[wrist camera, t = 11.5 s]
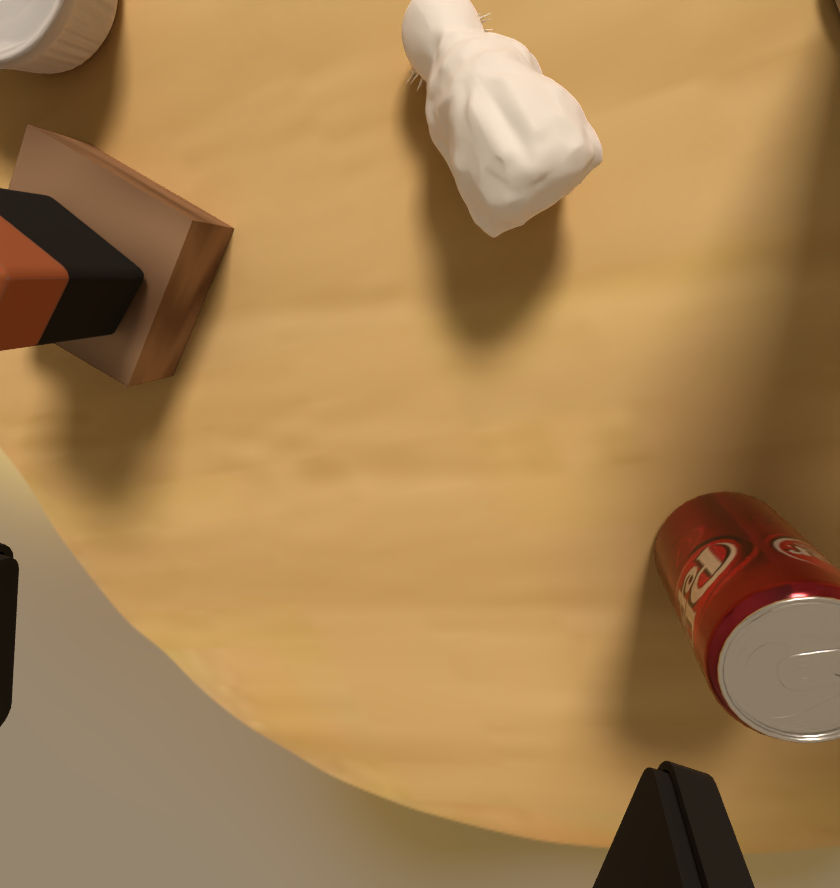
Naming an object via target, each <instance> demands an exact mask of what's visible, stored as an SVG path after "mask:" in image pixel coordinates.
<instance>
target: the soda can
mask: <svg viewBox="0 0 840 888" xmlns="http://www.w3.org/2000/svg"><path fill="white" fill-rule="evenodd" d="M655 561H656V566H657V569H658V572H659V575H660V577H661V579H662V582H663V584H664V586H665V588H666V591H667V593H668V595H669V597H670V600H671V602H672V604H673V606H674V609H675V611H676V613H677V615H678V618H679V620H680V622H681V624H682V627H683V629H684V631H685V634H686V636H687V638H688V640H689V643H690V645H691V647H692V649H693V652H694V654H695V656H696V658H697V661H698V663H699V665H700V667H701V670H702V672H703V674H704V676H705V679H706V681H707V683H708V685H709V688H710V689H711V691H712V693H713V695H714V696H715V698H716V700H717V702H718V703H719V704H720V705H721V706H722V707H723V708H724V709H725V710H726V712H727V713H728V714H730V715H731V716H732V717H734V718H735V719H736V720H737V721H739V722H740V723H741V724H743V725H744V726H746V727H748V728H750V729H752V730H754V731H756V732H758V733H760V734H763V735H767V736H770V737H773V738H776V739H781V740H786V741H793V742H800V743H807V742H823V741H829V740H835V739H838V738H840V570H839V569H838V568H837V567H835V566H834V565H833V564H832V563H831V562H830V561H829V560H828V559H827V558H826V557H825V556H824V555H822V554H821V553H820V552H819V551H818V550H817V549H816V548H815V547H814V546H813V545H812V544H811V543H810V542H808V541H807V540H806V539H805V538H804V537H803V536H802V535H801V534H800V533H799V532H798V531H797V530H795V529H794V528H793V527H792V526H791V525H790V524H789V523H788V522H787V521H786V520H785V519H784V518H783V517H781V516H780V515H779V514H778V513H777V512H776V511H775V510H774V509H772V508H771V507H770V506H768V505H767V504H766V503H764V502H762V501H760V500H758V499H756V498H754V497H752V496H748V495H745V494H741V493H734V492H717V493H709V494H706V495H702V496H698V497H696V498H694V499H692V500H690V501H687V502H686V503H684V504H683V505H681V506H680V507H679V508H677V509H676V510H675V511H674V512H673V513H672V514H671V515H670V516H669V517H668V518H667V519H666V521H665V522H664V524H663V526H662V527H661V529H660V531H659V534H658V537H657V539H656V545H655Z"/></svg>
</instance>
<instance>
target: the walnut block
mask: <svg viewBox="0 0 840 888" xmlns="http://www.w3.org/2000/svg"><path fill="white" fill-rule="evenodd" d="M9 190H15V191H22V192H29V193H35V194H41V195H47V196H50V197H52V198H53V199H55V200H56V201H57V202H59V203H60V204H61V205H62V206H64V207H65V208H66V209H67V210H69V211H70V212H71V213H72V214H74V215H75V216H76V217H77V218H79V219H80V220H81V221H82V222H84V223H85V224H86V225H87V226H89V227H90V228H91V229H92V230H93V231H95V232H96V233H97V234H98V235H100V236H101V237H102V238H103V239H105V240H106V241H107V242H108V243H110V244H111V245H112V246H113V247H115V248H116V249H117V250H118V251H120V252H121V253H122V254H123V255H125V256H126V257H127V258H128V259H130V260H131V261H132V262H133V263H134V264H136V265H137V266H138V267H139V268H140V269H141V270H142V271H143V273H144V279H143V281H142V283H141V285H140V287H139V289H138V290H137V292H136V294H135V296H134V298H133V300H132V301H131V303H130V305H129V307H128V309H127V311H126V312H125V314H124V316H123V318H122V320H121V322H120V323H119V325H118V327H117V329H116V331H115V332H114V333H113V334H111V335H106V336H99V337H92V338H85V339H78V340H71V341H64V342H57V343H55V344H56V345H58V346H60V347H61V348H63V349H65V350H67V351H68V352H70V353H72V354H73V355H75V356H77V357H78V358H80V359H82V360H83V361H85V362H87V363H88V364H90V365H92V366H94V367H95V368H97V369H99V370H100V371H102V372H104V373H105V374H107V375H109V376H110V377H112V378H114V379H115V380H117V381H119V382H121V383H122V384H124V385H126V386H127V387H128V386H132V385H136V384H140V383H144V382H148V381H152V380H156V379H160V378H164V377H168V376H172V375H174V372H175V370H176V367H177V365H178V363H179V360H180V358H181V355H182V353H183V350H184V348H185V346H186V343H187V341H188V338H189V336H190V334H191V331H192V329H193V326H194V324H195V321H196V319H197V317H198V314H199V312H200V309H201V307H202V304H203V302H204V300H205V297H206V295H207V292H208V290H209V288H210V285H211V283H212V280H213V278H214V275H215V273H216V271H217V268H218V266H219V263H220V261H221V259H222V256H223V254H224V251H225V249H226V246H227V244H228V242H229V239H230V237H231V234H232V232H233V229H234V228H233V227H231V226H229V225H228V224H226V223H224V222H222V221H221V220H219V219H217V218H216V217H214V216H212V215H210V214H209V213H207V212H205V211H204V210H202V209H200V208H198V207H197V206H195V205H193V204H192V203H190V202H188V201H186V200H185V199H183V198H181V197H180V196H178V195H176V194H174V193H173V192H171V191H169V190H168V189H166V188H164V187H162V186H161V185H159V184H157V183H156V182H154V181H152V180H150V179H149V178H147V177H145V176H144V175H142V174H140V173H138V172H137V171H135V170H133V169H132V168H130V167H128V166H126V165H125V164H123V163H121V162H120V161H118V160H116V159H114V158H113V157H111V156H109V155H108V154H106V153H104V152H102V151H101V150H99V149H97V148H96V147H94V146H92V145H90V144H89V143H86V142H82V141H79V140H76V139H73V138H70V137H67V136H64V135H61V134H58V133H54V132H51V131H48V130H45V129H42V128H39V127H36V126H33V125H30V124H27V127H26V130H25V134H24V137H23V141H22V144H21V148H20V151H19V155H18V158H17V162H16V165H15V168H14V172H13V175H12V179H11V182H10V186H9Z"/></svg>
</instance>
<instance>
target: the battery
mask: <svg viewBox="0 0 840 888" xmlns="http://www.w3.org/2000/svg"><path fill="white" fill-rule="evenodd" d="M143 279H144V273H143V271H142V270H141V269H140V268H139V267H138V266H137V265H136V264H134V263H133V262H132V261H131V260H130V259H128V258H127V257H126V256H125V255H123V254H122V253H121V252H120V251H118V250H117V249H116V248H115V247H113V246H112V245H111V244H110V243H108V242H107V241H106V240H105V239H103V238H102V237H101V236H100V235H98V234H97V233H96V232H95V231H93V230H92V229H91V228H90V227H89V226H87V225H86V224H85V223H84V222H82V221H81V220H80V219H79V218H77V217H76V216H75V215H74V214H72V213H71V212H70V211H69V210H67V209H66V208H65V207H64V206H62V205H61V204H60V203H59V202H57V201H56V200H55V199H53V198H52V197H50V196H47V195H41V194H35V193H29V192H22V191H15V190H9V189H2V188H0V351H2V350H9V349H16V348H23V347H30V346H37V345H43V344H50V343H57V342H64V341H71V340H78V339H85V338H92V337H99V336H106V335H111V334H113V333H114V332H115V331H116V329H117V327H118V325H119V323H120V322H121V320H122V318H123V316H124V314H125V312H126V311H127V309H128V307H129V305H130V303H131V301H132V300H133V298H134V296H135V294H136V292H137V290H138V289H139V287H140V285H141V283H142V281H143Z"/></svg>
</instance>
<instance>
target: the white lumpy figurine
mask: <svg viewBox="0 0 840 888" xmlns="http://www.w3.org/2000/svg"><path fill="white" fill-rule="evenodd" d="M490 14H491V13H489V14H487V15H490ZM479 15H480V14H478V13H477V11H476V9H475V8H474V6H473V4H472V3H471V2H470V0H412V1H411V2H410V4H409V6H408V7H407V10H406V12H405V15H404V19H403V24H402V41H403V46H404V49H405V52H406V55H407V57H408V59H409V61H410V63H411V65H412V66H413V68H412V69H411V71H413V70H414V69H415V71H414V72H413V73H412V74H411V75H410V77H409V79H408V80H407V82H408V81H409V80H410V78H411V77H412V76H413V75H414V74H415V73H416V75H415V76H414V78H413V80H412V81H411V83H412V82H413V81H414V80H415V78H416V77H417V76H419V75H420V76H421V77H422V78H421V80H420V82H419V85H418V89H419V87H420V86H421V85H422V84H421V83H422V81H423V80H425V81H426V90H427V96H426V105H425V114H426V120H427V124H428V127H429V134H430V137H431V139H432V141H433V143H434V145H435V146H436V148H437V149H438V150H439V152H440V153H441V154H442V156H443V157H444V159H445V161H446V162H447V164H448V166H449V168H450V170H451V172H452V174H453V176H454V178H455V182H456V185H457V188H458V191H459V193H460V195H461V197H462V199H463V201H464V202H465V204H466V206H467V208H468V210H469V213H470V215H471V217H472V219H473V221H474V223H475V224H477V225H478V226H479V227H480V228H481V229H482V230H483V231H484V232H485V233H486V234H488V235H489V236H491V237H492V238H495V237H497V236H498V235H500V234H501V233H503V232H505V231H507V230H510V229H513V228H516V227H519V226H522V225H524V224H525V223H526V222H527V221H528V220H529V219H531V218H532V217H534V216H535V215H537V214H538V213H540V212H542V211H544V210H546V209H547V208H549V207H551V206H552V205H554V204H555V203H557V202H558V201H559V200H560V199H561V198H562V197H563V196H566V195H568V194H569V193H570V192H572V191H573V189H574V188H575V187H576V186H578V185H579V184H580V183H581V182H582V181H583V180H584V179H585V177H586V176H587V175H588V174H589V173H590V172H591V171H592V170H593V169H594V168H596V167H597V166H598V165H600V164H601V162H602V146H601V144H600V141H599V138H598V136H597V134H596V132H595V131H594V129H593V128H592V126H591V125H590V123H589V122H588V121H587V119H586V117H585V114H584V112H583V110H582V108H581V106H580V104H579V103H578V102H577V100H576V99H575V98H574V97H573V96H572V95H571V94H570V93H569V92H568V91H567V90H566V89H565V88H564V87H562V86H561V85H559V84H558V83H556V82H555V81H554V80H552V79H551V78H549V77H546V76H544V75H543V73H542V71H541V68H540V65H539V63H538V61H537V59H536V58H535V57H534V55H533V54H532V53H530V52H529V50H528V49H527V48H526V47H525V46H524V45H523V44H521V43H520V42H518V41H517V40H515V39H512V38H509V37H506V36H503V35H500V34H497V33H491V32H488V33H486V31H490V30H493V29H485V30H484V29H483V26H482V23H484V22H486V21H488V20H490V19H491V18H489V19H486V20H483V21H480V20H481V19H483V18H484V17H486V16H487V15H484V16H481V17H480V18H479ZM411 71H410V72H411ZM407 82H406V83H407ZM411 83H410V85H411ZM420 84H421V85H420ZM418 89H417V91H418Z"/></svg>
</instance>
